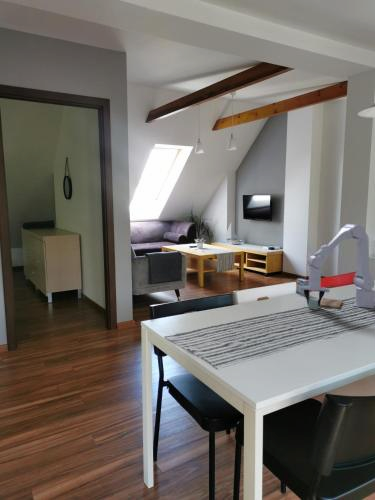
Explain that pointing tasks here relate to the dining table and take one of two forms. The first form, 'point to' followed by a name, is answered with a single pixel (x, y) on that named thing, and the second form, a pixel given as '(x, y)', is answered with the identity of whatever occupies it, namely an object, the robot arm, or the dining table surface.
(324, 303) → the walnut board
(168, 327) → the dining table surface
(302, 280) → the medicine box
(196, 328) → the dining table surface
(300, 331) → the dining table surface
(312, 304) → the teal cube
